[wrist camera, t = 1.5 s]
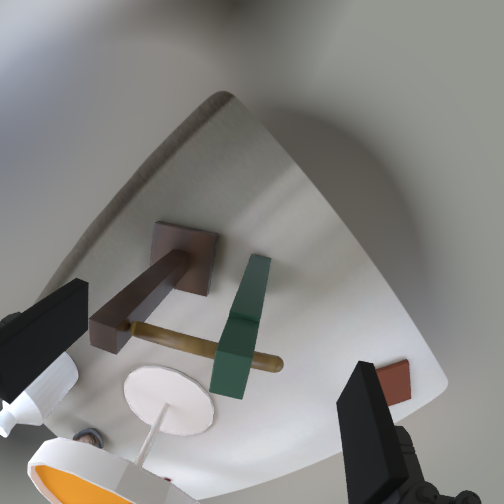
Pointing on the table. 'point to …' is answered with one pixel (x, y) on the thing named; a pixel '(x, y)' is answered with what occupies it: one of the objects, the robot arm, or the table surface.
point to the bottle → (40, 395)
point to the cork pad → (395, 382)
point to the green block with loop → (240, 332)
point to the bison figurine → (89, 438)
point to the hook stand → (157, 288)
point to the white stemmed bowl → (119, 469)
